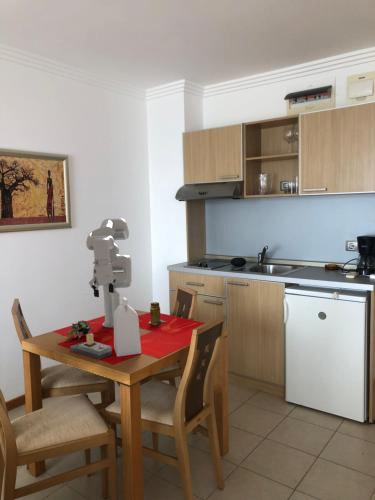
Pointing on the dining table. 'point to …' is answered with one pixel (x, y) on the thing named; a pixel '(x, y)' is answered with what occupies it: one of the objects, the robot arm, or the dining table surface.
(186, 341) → the dining table surface
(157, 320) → the condiment
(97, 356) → the grey long rectangular block
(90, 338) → the brass pin
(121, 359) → the dining table surface
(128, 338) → the milk
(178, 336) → the dining table surface
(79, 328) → the passion flower
